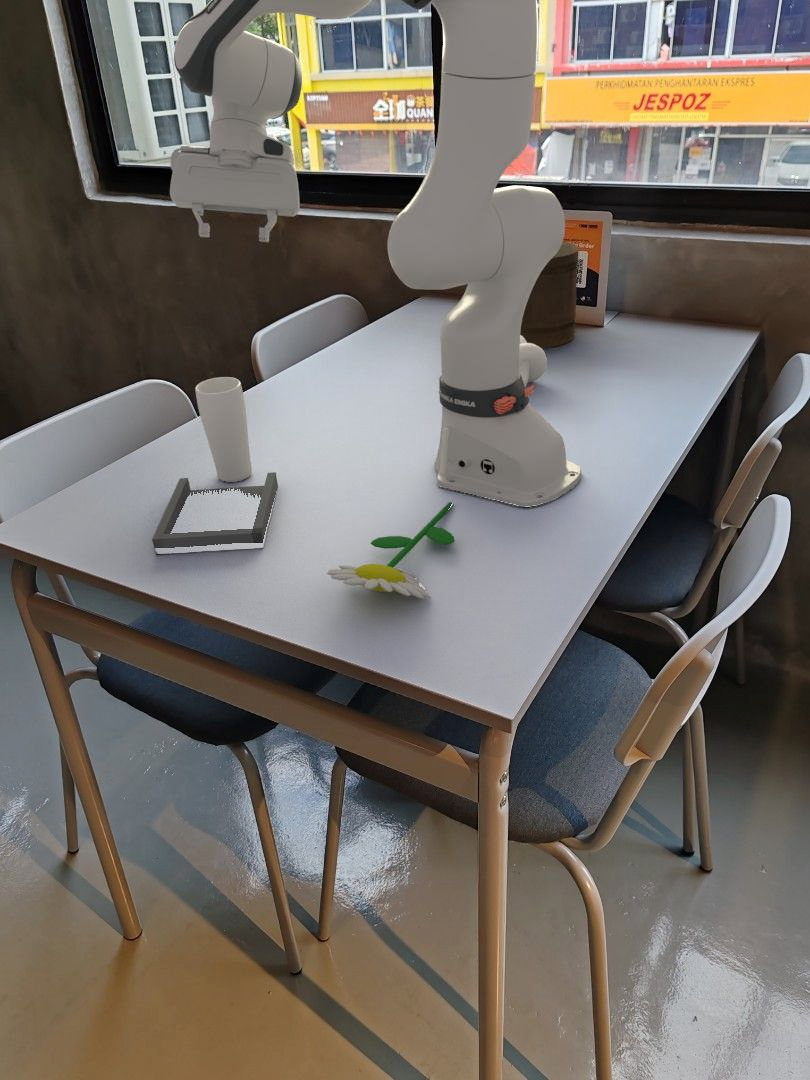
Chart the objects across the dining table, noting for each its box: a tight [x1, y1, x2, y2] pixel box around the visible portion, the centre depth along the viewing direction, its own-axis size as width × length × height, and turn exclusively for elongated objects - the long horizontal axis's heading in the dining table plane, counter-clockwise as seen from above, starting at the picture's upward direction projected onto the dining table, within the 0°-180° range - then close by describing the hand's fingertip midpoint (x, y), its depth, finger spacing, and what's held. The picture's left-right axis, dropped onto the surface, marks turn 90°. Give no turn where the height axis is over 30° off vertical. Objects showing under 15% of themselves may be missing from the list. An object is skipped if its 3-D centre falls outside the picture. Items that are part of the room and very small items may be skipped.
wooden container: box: [520, 241, 579, 349], centre depth 169 cm, size 15×15×22 cm
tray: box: [151, 471, 279, 548], centre depth 116 cm, size 17×14×2 cm
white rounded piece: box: [519, 335, 548, 388], centre depth 150 cm, size 11×12×9 cm
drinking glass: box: [194, 376, 253, 483], centre depth 124 cm, size 7×7×15 cm
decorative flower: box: [326, 501, 455, 599], centre depth 104 cm, size 13×5×30 cm
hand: (234, 238), depth 132 cm, fingers open, 8 cm apart
